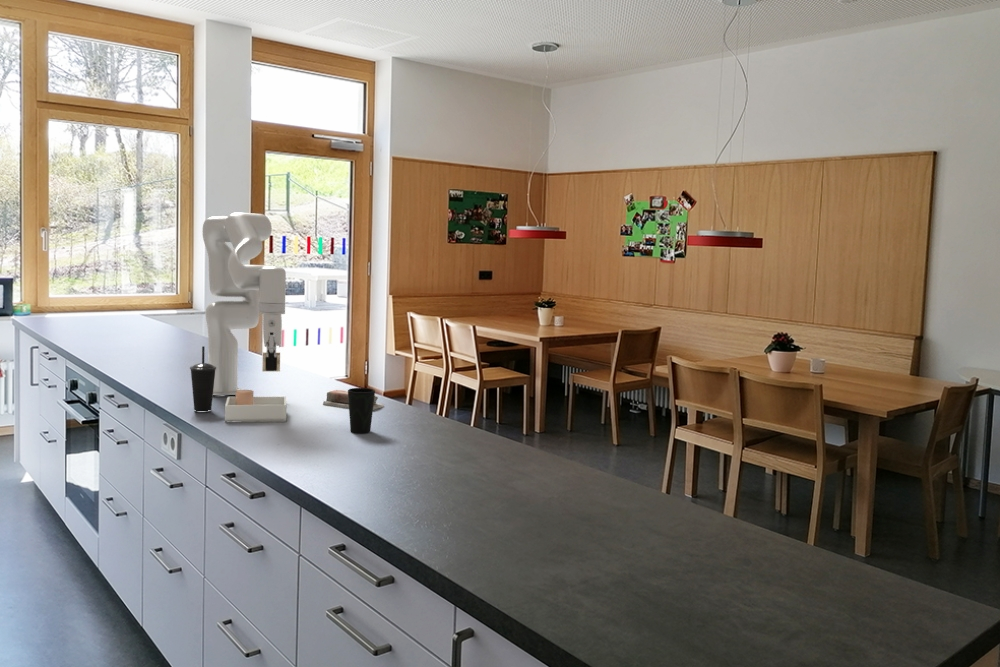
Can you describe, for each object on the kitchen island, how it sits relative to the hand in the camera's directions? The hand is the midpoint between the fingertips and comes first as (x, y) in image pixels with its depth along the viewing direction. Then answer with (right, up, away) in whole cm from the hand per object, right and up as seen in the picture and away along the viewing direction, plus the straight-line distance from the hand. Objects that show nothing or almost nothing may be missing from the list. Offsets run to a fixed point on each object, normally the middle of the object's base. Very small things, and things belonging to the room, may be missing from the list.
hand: (271, 368), depth 245 cm
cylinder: (-8, -14, 0) cm, 16 cm away
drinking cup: (-22, -14, +6) cm, 27 cm away
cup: (+29, -18, -11) cm, 36 cm away
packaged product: (+20, -14, +24) cm, 35 cm away
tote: (-5, -15, +1) cm, 15 cm away
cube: (0, -1, 0) cm, 1 cm away
